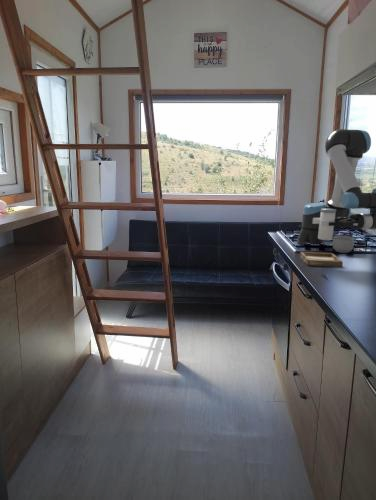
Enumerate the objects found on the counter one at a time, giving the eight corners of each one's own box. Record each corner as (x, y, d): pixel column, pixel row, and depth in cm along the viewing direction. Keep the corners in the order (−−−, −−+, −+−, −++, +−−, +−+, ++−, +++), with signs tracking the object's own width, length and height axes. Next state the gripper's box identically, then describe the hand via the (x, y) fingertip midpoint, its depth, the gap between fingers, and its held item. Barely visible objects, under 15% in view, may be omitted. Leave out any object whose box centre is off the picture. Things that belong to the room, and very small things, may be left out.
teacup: (354, 254, 204) (356, 240, 202) (332, 253, 206) (334, 238, 204) (349, 248, 218) (351, 234, 216) (328, 247, 220) (330, 233, 218)
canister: (314, 237, 187) (317, 208, 183) (327, 236, 189) (330, 208, 185) (322, 240, 181) (326, 210, 177) (335, 240, 182) (339, 210, 179)
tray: (299, 256, 197) (300, 251, 197) (332, 258, 196) (332, 253, 196) (307, 265, 182) (307, 260, 181) (342, 267, 181) (342, 261, 180)
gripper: (372, 233, 179) (328, 234, 173) (346, 225, 197) (305, 226, 191) (375, 217, 177) (330, 217, 171) (348, 210, 195) (307, 210, 190)
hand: (317, 222), depth 181 cm, fingers closed on canister, 6 cm apart
